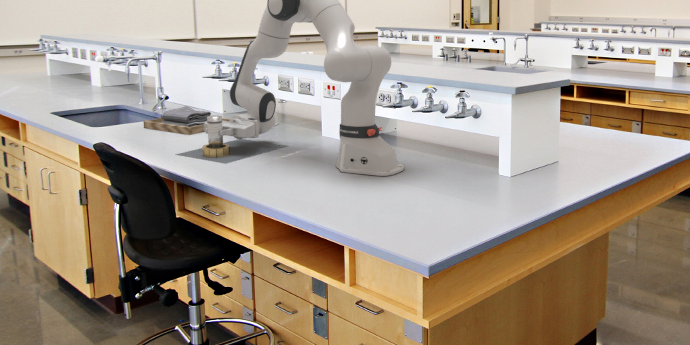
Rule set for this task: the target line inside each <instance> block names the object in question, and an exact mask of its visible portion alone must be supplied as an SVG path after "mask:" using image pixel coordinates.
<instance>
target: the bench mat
mask: <svg viewBox="0 0 690 345" xmlns="http://www.w3.org/2000/svg"><path fill="white" fill-rule="evenodd" d="M223 144H228V145H230V155H229V156H225V157H218V158H217V157H216V158H210V157H204V156H203V153H202V147H201V148H197V149H192V150H188V151H184V152H181V153H180V152H179V153H176V154H175V156H181V157H184V158H185V157H186V158H191V159H192V158H193V159H198V160H203V161H209V162H215V163H219V164H225V165H226V164H230V163H233V162H237V161H240V160H243V159H247V158H251V157H254V156H258V155H261V154H266V153H268V152H269V153H270V152H272V151H276V150H279V149H283V148H287V147H288V145H286V144H279V143H273V142H265V141H259V140H258V141H257V140H252V139H247V138H243V139H234V140H231V141H226V142H223Z"/></svg>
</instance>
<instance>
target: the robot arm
mask: <svg viewBox="0 0 690 345" xmlns="http://www.w3.org/2000/svg"><path fill="white" fill-rule="evenodd" d="M266 4H267V5H266V7H265V9H264V10H263V14H262V16H261V19H260V23H259V28H258V32H257V35H256V37H255V38H254V40H252V41H250V42H249V44H248V45H247V47H246V49H245V51H244V53H243V54H244V55H243V56H242V60H241V63H240V66H239V68H238V72H237V74H236V77H235V79H234V82H233V83H232V85H231V87H230V89H229V98H230V101H231V103H232V104H233V105H235V106H238V107H240V108H244V109H245V110H247V111H246V113H240V114H234V115H233V116H231V118H229V119H230V121H229V122H228V121H222V130H219V135H220V136H223V137H224V136H227V137H228V136H229V137H233V138H234V139H236V140H238V139H258V138H259V137H260V135H262V134H265V133H267V132H269V131H270V130H272V129H273V128H274V127H275V126H274V125H275V115H274V112H275V109H277V108H276V107H277V106H276V105H277V102H276V96H275V95H274V94H273V92H270V91H268V90H267V89H264V88H262V87H260V86H259V85H256V84H254V83H253V81H252V78H253V76H254V73H255V70H256V68H257V64H258V62H259V61H260V60H261V59H262V60H263V59H274V58H275V59H276V58H278V57H280V56H282V55H283V54H284V53H285V52H286V50H287V48H288V45H289V41H290V36H291V32H292V31H291V30H292V28H293V25H294V24H295V23H298V24H299V23H312V24H313V26H314V27H315V29H316V31H317V32H318V34H319V36H320V38H321V40H322V41H323V43H324V45H325V49H326V55H325V57H324V61H323V69H324V72H325V74H326V76H327V77H328V78H329V80H331V81H335V82H340V83H350V86H349V88H348V90H347V92H346V93H345V94H344V96H342V99H341V101H340V124H339V129H338V130H339V139H340V142H339V149H338V150H339V151H338V156H337V161H336V163H335V167H336V168H337V169H339V172H341V173H349V174H356V175H357V174H358V175H359V174H361V175H371V176H377V177H387V176H393V175H397V174H399V173H401V172H402V171H403V170H404V169H405V166H404V164H401V163H398V157H397V152H396V149H395V148H393V147H392V146H391V145H390V144H389V143H388V142H387V141H385V139H383V138H382V137H381V136H380V132H382V130H383V127H382V126H380V127H378V126H377V124H376V107H377V106H376V103H377V99H378V98H377V97H378V93H379V89H380V86H381V84H382V81H383V79H384V78H385V76H386V75H387V74H388V73H389V72H390V69H391V66H392V57H391V54H390V52H389V51H388V50H387V49H386V48H385V47H382V46H378V45H373V44H369V45H368V44H367V45H365V44H364V45H358V44H357V43H356V42H355V41H354V36H353V35H354V33H355V28H356V26H355V23H354V22H353V20H352V19H351V17H350V16H349V14H348V12H347V11H346V9H345V8H344V6H343V4H342V3H341V2H340V0H267V3H266ZM203 133H205V134H207V135H208V125H207V122H205V123H204V132H203Z"/></svg>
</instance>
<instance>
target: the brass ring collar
mask: <svg viewBox="0 0 690 345" xmlns="http://www.w3.org/2000/svg"><path fill="white" fill-rule="evenodd" d="M201 148H202V153H203V156H204V157H210V158H216V157H217V158H218V157H225V156H229V155H230V145H228V144H223V148H209V143H207V144H204V145H202V147H201Z"/></svg>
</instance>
